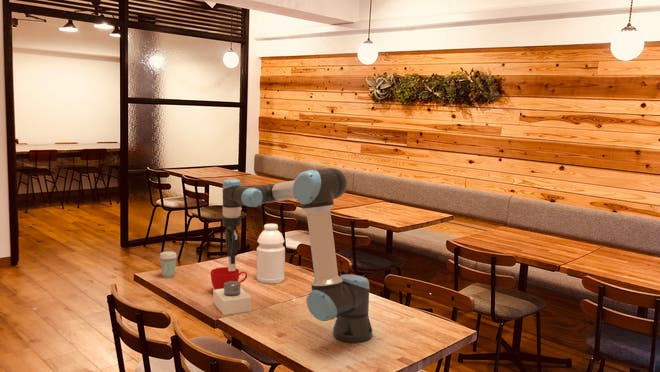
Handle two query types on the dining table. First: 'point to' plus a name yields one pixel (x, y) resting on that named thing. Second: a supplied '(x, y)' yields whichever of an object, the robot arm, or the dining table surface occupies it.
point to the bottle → (270, 255)
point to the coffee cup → (168, 263)
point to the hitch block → (232, 302)
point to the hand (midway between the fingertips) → (231, 270)
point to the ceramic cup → (224, 276)
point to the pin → (232, 288)
